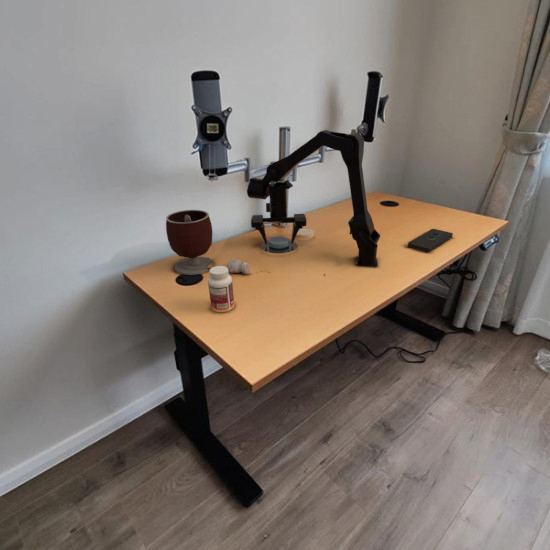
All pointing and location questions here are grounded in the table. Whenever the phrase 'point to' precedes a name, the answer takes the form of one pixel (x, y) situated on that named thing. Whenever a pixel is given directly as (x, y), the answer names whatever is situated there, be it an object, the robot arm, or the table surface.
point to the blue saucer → (278, 242)
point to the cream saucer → (305, 233)
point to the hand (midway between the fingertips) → (279, 243)
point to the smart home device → (430, 240)
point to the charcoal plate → (283, 250)
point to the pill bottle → (221, 289)
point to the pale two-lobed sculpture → (238, 266)
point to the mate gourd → (190, 239)
